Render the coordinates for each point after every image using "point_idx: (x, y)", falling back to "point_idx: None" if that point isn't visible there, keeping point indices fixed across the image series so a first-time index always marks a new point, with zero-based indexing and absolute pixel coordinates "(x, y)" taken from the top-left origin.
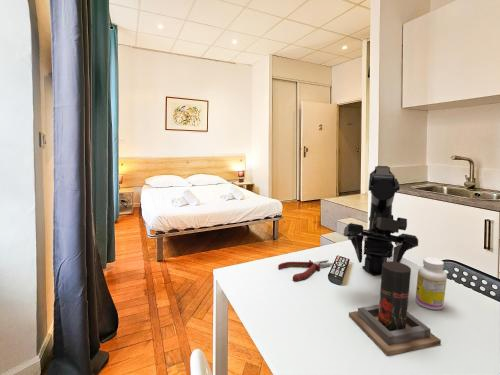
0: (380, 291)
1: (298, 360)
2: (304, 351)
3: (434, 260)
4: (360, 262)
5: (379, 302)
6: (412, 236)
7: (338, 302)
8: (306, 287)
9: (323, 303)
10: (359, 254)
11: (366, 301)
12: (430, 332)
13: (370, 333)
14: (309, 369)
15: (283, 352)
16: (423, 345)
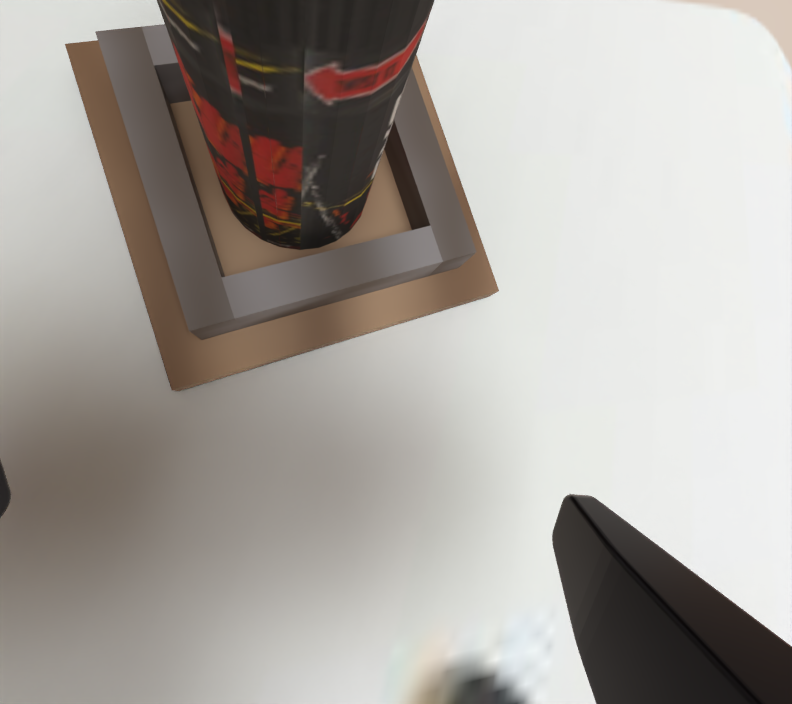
0: (419, 43)
1: (704, 43)
2: (687, 79)
3: None
4: (574, 500)
5: (386, 140)
6: None
7: (518, 427)
8: None
9: (598, 407)
10: (707, 583)
11: (343, 459)
12: (85, 108)
13: (435, 120)
14: (673, 4)
15: (748, 81)
16: None
